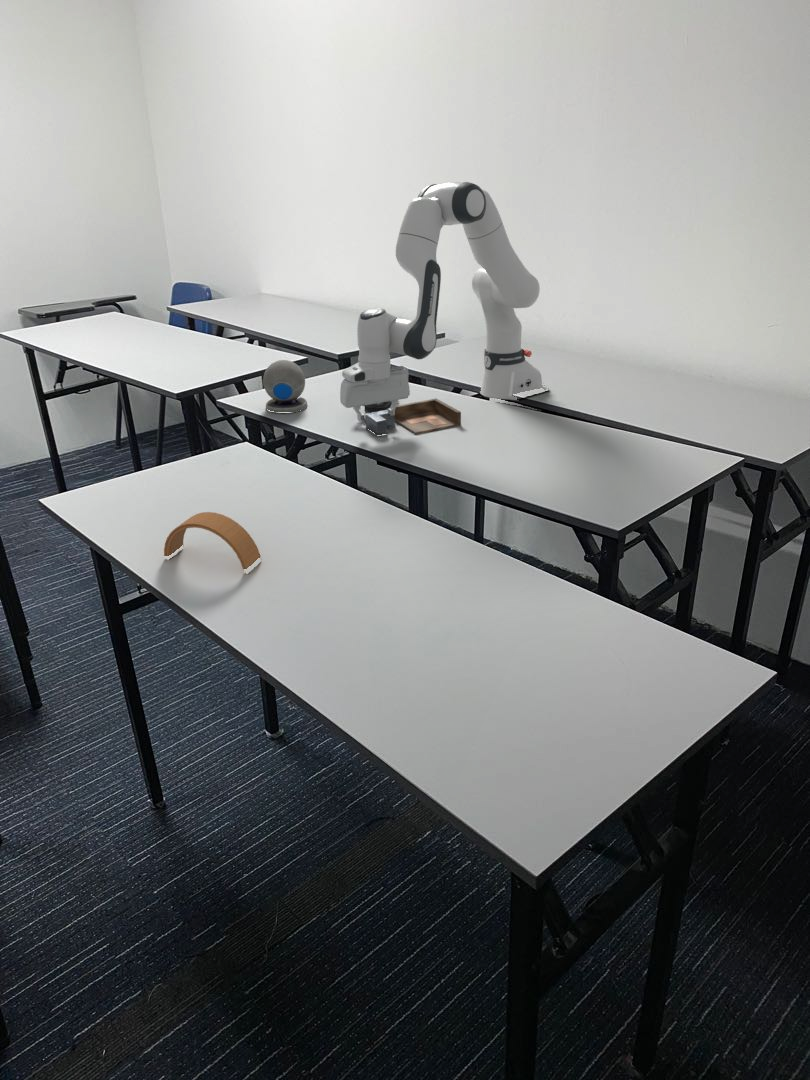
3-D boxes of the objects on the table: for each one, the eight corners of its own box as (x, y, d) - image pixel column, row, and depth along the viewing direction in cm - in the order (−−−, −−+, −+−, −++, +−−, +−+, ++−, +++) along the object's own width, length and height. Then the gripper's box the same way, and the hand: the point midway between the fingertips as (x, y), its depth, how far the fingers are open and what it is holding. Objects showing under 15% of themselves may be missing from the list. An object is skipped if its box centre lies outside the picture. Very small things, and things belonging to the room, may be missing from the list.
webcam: (308, 400, 264) (304, 354, 257) (305, 413, 253) (301, 365, 246) (268, 402, 264) (263, 356, 257) (263, 415, 252) (258, 367, 245)
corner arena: (436, 411, 251) (436, 398, 249) (460, 425, 239) (460, 411, 237) (392, 419, 245) (391, 406, 243) (415, 434, 233) (414, 420, 231)
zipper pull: (347, 401, 240) (373, 377, 262) (349, 423, 244) (374, 397, 265) (376, 403, 238) (400, 379, 260) (377, 425, 241) (400, 399, 263)
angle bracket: (366, 428, 239) (365, 413, 237) (390, 423, 242) (390, 409, 240) (377, 436, 232) (376, 421, 230) (402, 431, 235) (402, 416, 233)
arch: (181, 547, 175) (173, 505, 171) (261, 562, 169) (256, 519, 164) (164, 560, 171) (156, 517, 166) (247, 575, 164) (240, 531, 159)
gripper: (403, 362, 233) (404, 409, 239) (336, 371, 225) (339, 420, 231) (413, 367, 228) (413, 415, 234) (345, 377, 220) (347, 426, 226)
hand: (376, 417), depth 232 cm, fingers open, 8 cm apart
